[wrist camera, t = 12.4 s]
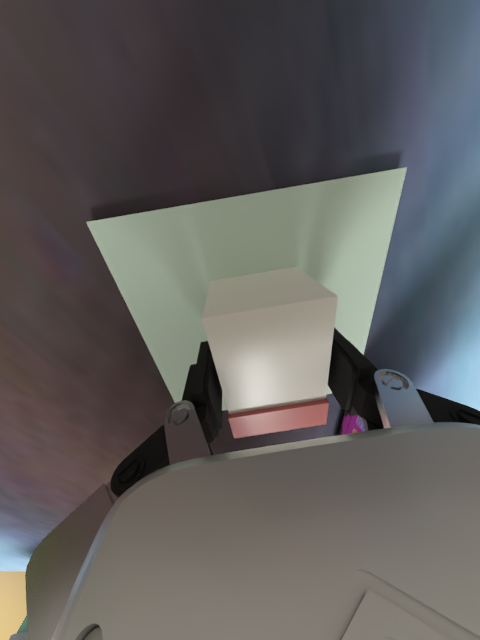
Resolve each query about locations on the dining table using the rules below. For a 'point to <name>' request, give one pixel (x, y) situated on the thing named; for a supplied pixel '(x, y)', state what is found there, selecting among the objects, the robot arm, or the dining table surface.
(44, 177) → the dining table surface
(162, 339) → the mat
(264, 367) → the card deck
